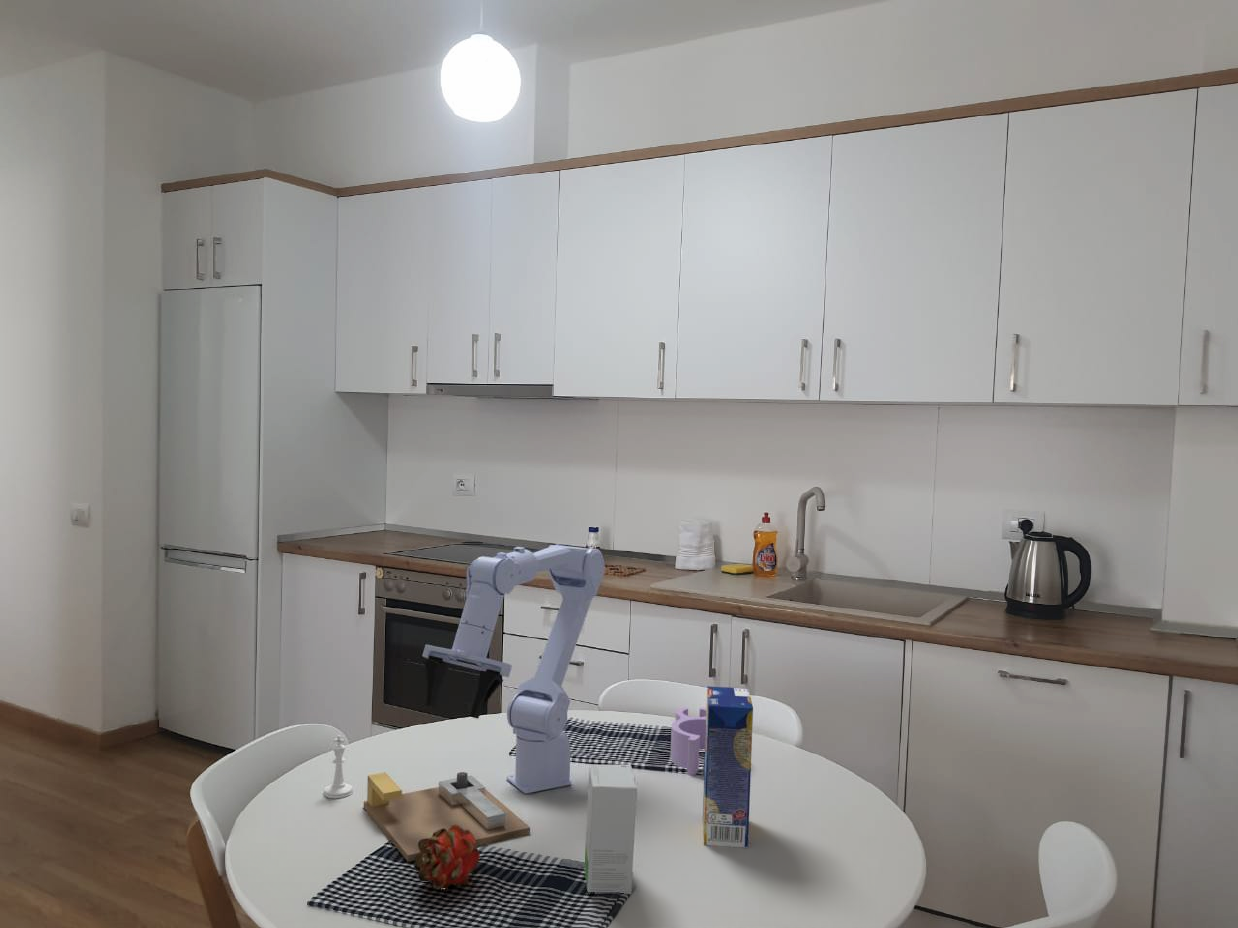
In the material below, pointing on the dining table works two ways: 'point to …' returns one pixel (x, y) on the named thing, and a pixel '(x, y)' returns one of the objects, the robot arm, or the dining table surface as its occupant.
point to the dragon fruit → (447, 857)
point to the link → (473, 801)
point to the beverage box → (727, 766)
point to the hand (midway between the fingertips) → (451, 712)
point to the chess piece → (338, 775)
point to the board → (437, 819)
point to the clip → (688, 739)
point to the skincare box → (610, 828)
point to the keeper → (381, 789)
